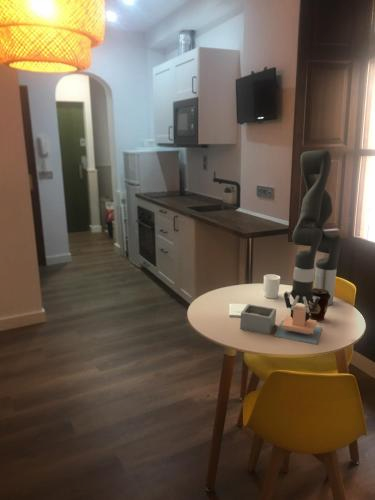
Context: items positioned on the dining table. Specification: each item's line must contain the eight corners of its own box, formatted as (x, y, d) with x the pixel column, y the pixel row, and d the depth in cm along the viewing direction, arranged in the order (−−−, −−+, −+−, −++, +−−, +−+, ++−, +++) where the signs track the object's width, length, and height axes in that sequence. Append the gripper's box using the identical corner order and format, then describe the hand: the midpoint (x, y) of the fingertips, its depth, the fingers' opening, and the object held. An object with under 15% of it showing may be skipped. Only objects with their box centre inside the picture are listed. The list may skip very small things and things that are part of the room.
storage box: (247, 319, 175) (247, 304, 173) (275, 324, 170) (276, 308, 168) (240, 328, 166) (240, 312, 164) (269, 334, 161) (270, 318, 160)
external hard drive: (247, 307, 189) (248, 319, 177) (229, 306, 190) (229, 317, 178) (247, 304, 188) (248, 315, 176) (229, 303, 189) (229, 314, 177)
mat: (282, 321, 173) (282, 320, 173) (321, 328, 167) (321, 327, 167) (274, 336, 160) (274, 335, 160) (316, 344, 154) (316, 343, 154)
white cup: (260, 293, 205) (261, 274, 202) (275, 292, 205) (277, 274, 203) (265, 299, 197) (266, 279, 194) (281, 298, 198) (282, 279, 195)
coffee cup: (316, 325, 170) (319, 295, 167) (302, 317, 178) (304, 289, 174) (331, 321, 174) (334, 292, 171) (317, 313, 181) (320, 286, 178)
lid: (286, 320, 170) (287, 301, 168) (316, 326, 165) (318, 306, 163) (281, 330, 161) (282, 310, 159) (312, 336, 156) (314, 316, 154)
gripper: (323, 277, 158) (319, 318, 163) (286, 272, 164) (283, 312, 168) (321, 283, 152) (317, 326, 156) (282, 278, 157) (279, 319, 162)
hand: (299, 318), depth 162 cm, fingers closed on lid, 4 cm apart
